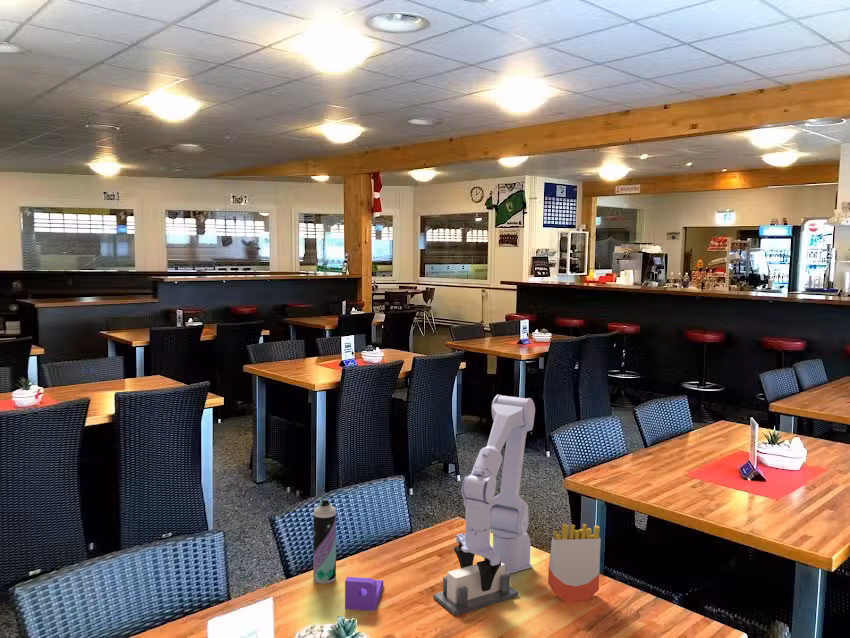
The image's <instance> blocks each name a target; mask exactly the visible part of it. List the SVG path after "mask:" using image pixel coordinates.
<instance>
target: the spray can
mask: <svg viewBox="0 0 850 638" xmlns="http://www.w3.org/2000/svg"><path fill="white" fill-rule="evenodd" d="M329 501H330V500H329V499H327V498H321V502H319V504H318V506H316V507H314V509H313V512H312V513H313V521H312V522H313V523H312V524H313V542H312V543H313V545H312V546H313V549H312V550H313V555H312V556H313V567H312V568H313V573H312V574H313V577H312V578H313V581H314V583H317V584H320V585H328V584H331V583H333V582H334V581H335V580H336V579H337V511H336V510H337V508H336V507H335V506H333V505H331V503H330V502H329Z"/></svg>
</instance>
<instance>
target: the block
mask: <svg viewBox="0 0 850 638" xmlns="http://www.w3.org/2000/svg"><path fill="white" fill-rule="evenodd" d="M446 575H447V598H448V599H450V600H451V601H452V602H453V603H455V604H457V603H458V588H461V587H464V586H466V587H467V588H468V600H470V599H473V598H476V597H480V596H483V595H486V594H490V593H493V592H496V591H499V590H500V576H502V575H505V564H503V563H502V562H501V566H500V567H499V569H498V570H497V572H496V574H495V576H494V579H493V582H492V586H491V589H490V590H488V591H484V592H483V591H482V589H481V577H480V572H479V568H478V566H477V563H475V564H473V565H471V566H468V567H464V568H461V567H460V568H457V569H453V570H450V571H447V572H446Z"/></svg>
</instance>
